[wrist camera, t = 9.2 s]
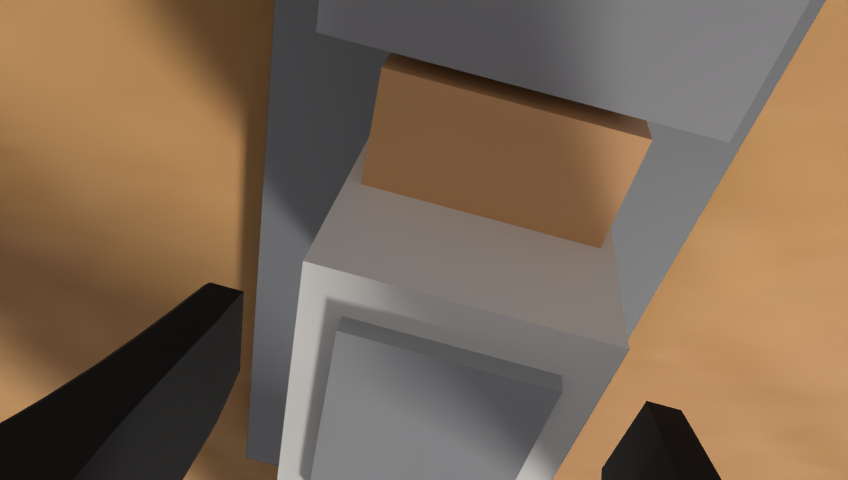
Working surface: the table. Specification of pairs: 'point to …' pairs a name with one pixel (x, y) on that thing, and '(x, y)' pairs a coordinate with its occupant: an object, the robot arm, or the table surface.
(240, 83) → the table surface
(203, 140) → the table surface
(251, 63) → the table surface
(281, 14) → the rail board
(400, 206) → the block
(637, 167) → the orange block
